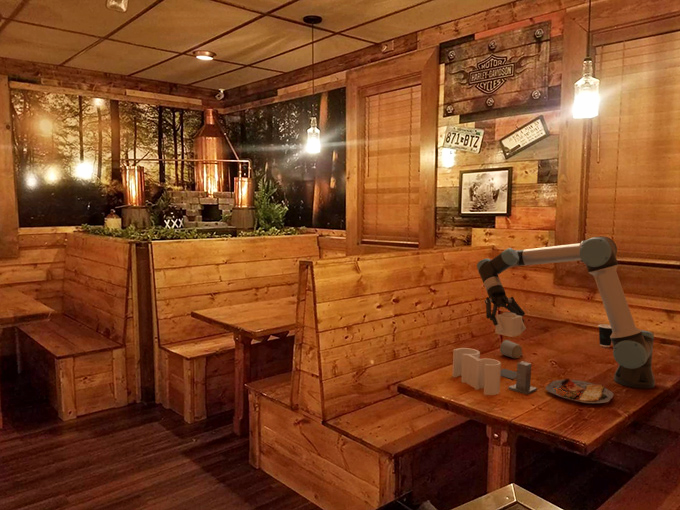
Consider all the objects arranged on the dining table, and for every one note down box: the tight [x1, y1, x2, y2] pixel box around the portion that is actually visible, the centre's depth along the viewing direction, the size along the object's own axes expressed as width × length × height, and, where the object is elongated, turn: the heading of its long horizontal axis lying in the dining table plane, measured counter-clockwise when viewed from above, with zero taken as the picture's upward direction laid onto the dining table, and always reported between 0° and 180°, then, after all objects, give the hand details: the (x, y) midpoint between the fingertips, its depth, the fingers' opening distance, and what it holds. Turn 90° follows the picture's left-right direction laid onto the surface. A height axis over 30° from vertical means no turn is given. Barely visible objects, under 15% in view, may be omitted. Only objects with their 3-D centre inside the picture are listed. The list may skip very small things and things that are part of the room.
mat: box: [500, 368, 517, 381], centre depth 229 cm, size 10×10×1 cm
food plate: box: [545, 377, 615, 405], centre depth 206 cm, size 25×23×4 cm
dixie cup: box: [597, 323, 613, 348], centre depth 280 cm, size 8×8×11 cm
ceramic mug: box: [499, 339, 523, 359], centre depth 257 cm, size 11×8×8 cm
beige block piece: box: [494, 311, 523, 338], centre depth 228 cm, size 8×8×9 cm
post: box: [508, 360, 538, 395], centre depth 210 cm, size 8×8×11 cm
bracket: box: [452, 347, 502, 396], centre depth 215 cm, size 25×10×12 cm, turn 19°
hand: (512, 330), depth 225 cm, fingers closed on beige block piece, 11 cm apart
